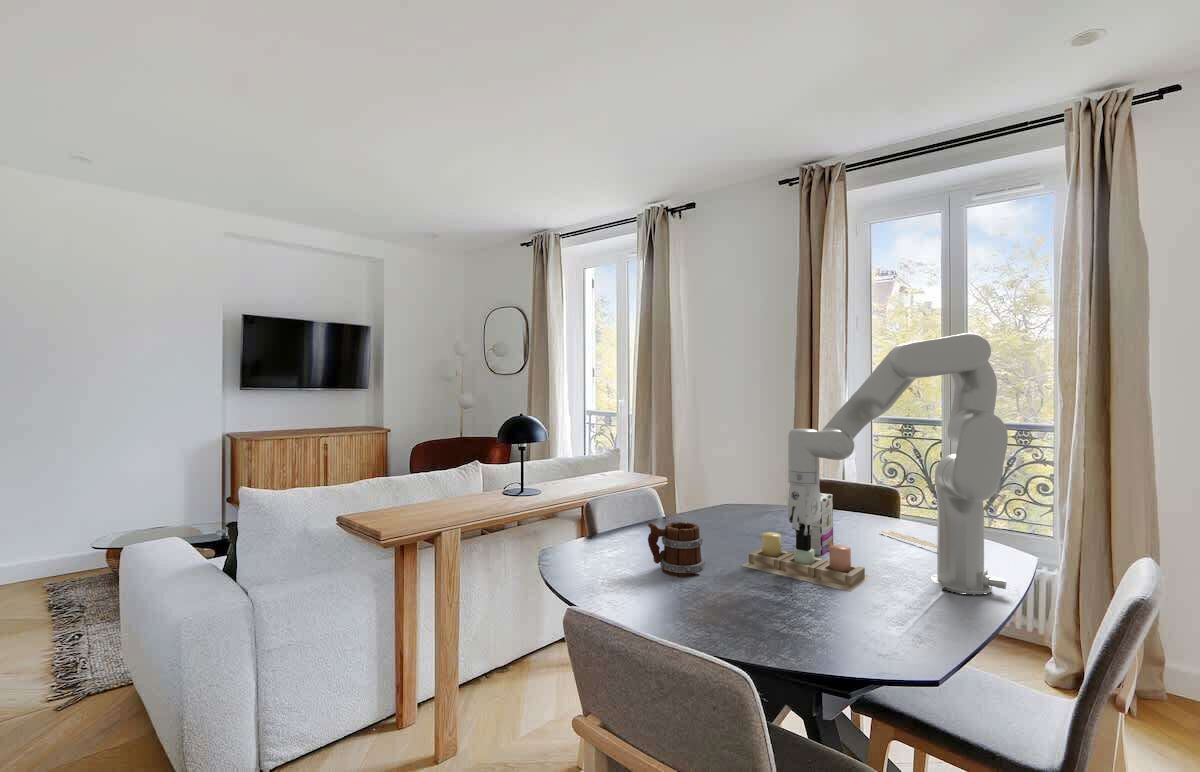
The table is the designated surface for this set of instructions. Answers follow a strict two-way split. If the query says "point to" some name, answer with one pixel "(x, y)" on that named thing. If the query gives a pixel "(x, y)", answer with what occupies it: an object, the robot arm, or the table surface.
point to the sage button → (804, 556)
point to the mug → (677, 548)
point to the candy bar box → (823, 527)
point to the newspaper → (909, 538)
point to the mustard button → (771, 544)
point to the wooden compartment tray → (807, 570)
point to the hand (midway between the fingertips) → (803, 549)
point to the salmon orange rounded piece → (840, 557)
